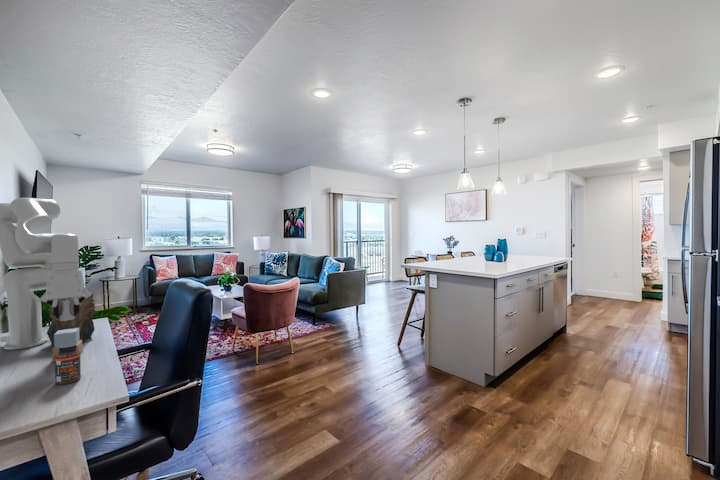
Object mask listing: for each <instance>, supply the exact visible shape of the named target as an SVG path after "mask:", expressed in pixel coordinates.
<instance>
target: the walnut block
mask: <svg viewBox="0 0 720 480" xmlns="http://www.w3.org/2000/svg"><path fill="white" fill-rule="evenodd" d="M76 347H77V348H76V349H77V350H79V351H80V353H81V355H82V354H83V348H84V347H83V342H82V340H80V341H79V342H78V344H77V345H76ZM59 352H60V351H59V348H55V349H54V347H53V348H52V363H55V356H56V354H58V353H59Z"/></svg>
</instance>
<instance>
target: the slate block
mask: <svg viewBox="0 0 720 480" xmlns="http://www.w3.org/2000/svg"><path fill="white" fill-rule="evenodd" d="M79 341H80V335H79V328H73V329H66V330H58V331H57V332H56V333H55V334H54V346H53V348H54V349H55V348H59V347H60V346H62V345H65V344H70V343H75V344H76V345H77V344H78V342H79Z"/></svg>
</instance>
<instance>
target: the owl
mask: <svg viewBox="0 0 720 480" xmlns="http://www.w3.org/2000/svg"><path fill="white" fill-rule="evenodd" d="M90 293H91V296H89V297H88V298H86V299H84V300H83V301H82V302H81V303H80V313H78V315H77V316H74V317H75V318H74V319H72V320H67V321H60V320H59V319H60V317H58V318H56V315H55V316H54V307H52V306H51V305H50V309H49V313H48V314H49V318H51V322H50V323H49V326H48V329H47V332H46V335H47V336H48V337H47V338H49V342H50V346H51V345H52V346H53V347H54V334H55V333H56V332H57V331H58V330H66V329H73V328H79V335H80V340H82V343H85V342H86V340H87V341H89V340H91V339H92V336H93V333H94V331H95V329H96V328H95V324H94V320H93V317H94V313H95V311H96V310H95V307H96V305H95V302H94V300H93V299H94V293H92V292H90ZM84 295H85V293H84V294H83V295H82V296H80V297H79V298H81V297H83V296H84ZM65 299H66V298H65ZM71 299H72V301H71V304H72V305H71V308H72V311H73V313H74V308H73V306H74V304H75V302H74V299H73V298H71ZM61 300H62V299H60V300H59V303H58V304H59V306H60V314H61V313H62V302H61ZM84 341H85V342H84ZM52 346H51V347H52Z"/></svg>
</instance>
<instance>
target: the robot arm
mask: <svg viewBox="0 0 720 480" xmlns="http://www.w3.org/2000/svg"><path fill="white" fill-rule="evenodd" d="M60 214H61V208H60V205H59V204H58V202H57V201H55V200H54V199H49V198H38V197H37V198H36V197H18V198H14V200H12V201H10V202H8V203H7V202H5V203H3V202H2V203H1V202H0V252H1V256H2V259H3V262H4V264H5V266H7V268H11V269H14V270H11V271H8V272H7V273H6V274H5V275H4V276H3V278H2V279H3V285H4V289H5V293H6V299H7V315H8V317H7V319H8V335H2V336H0V343H4V342H5V344H4V345H3V349H4V350H8V351H9V350H10V351H12V350H15V351H16V350H21V349H29V348H33V347H36V346H40V345H43V344H46V343H47V342H48V341H49V340H48V338H49V337H46V336H43V322H42V321H43V317H42V302H43V303H46V304H47V305H50V307H51V306H52V307H54V316H55V315H56V318H58V317H59V316H60V315H61V314H60V306H59V304H58V303H59V300H60V299H63V298H73V299H74V302H75V304H74V306H73V308H74V316H77V315H78V313H80V303H81V302H82V301H83V300H84V299H86V298H88V297H89V296H91V293H92V292H90V291H89V290H88V289H87V288H86V287H85V280H84V274H83V271H82V269H80V259H79V238H78V237H79V236H78V235H77V234H73V233H42V232H44V231H47V230H48V229H49V228H50V227H51V226H52V224H53V221H54V220H56V219H57V218H58V217H60ZM15 224H16V225H17V224H19V225H18V226H16V225H15ZM15 268H16V269H15ZM42 290H43V291H44V290H45V292H44V293H43V295H41V297H39V296H37V295H36V294H35V293H34V292H35V291H36V292H37V291H42ZM83 294H85V295H84V296H83V297H81V298H79V297H80V296H82V295H83Z"/></svg>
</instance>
